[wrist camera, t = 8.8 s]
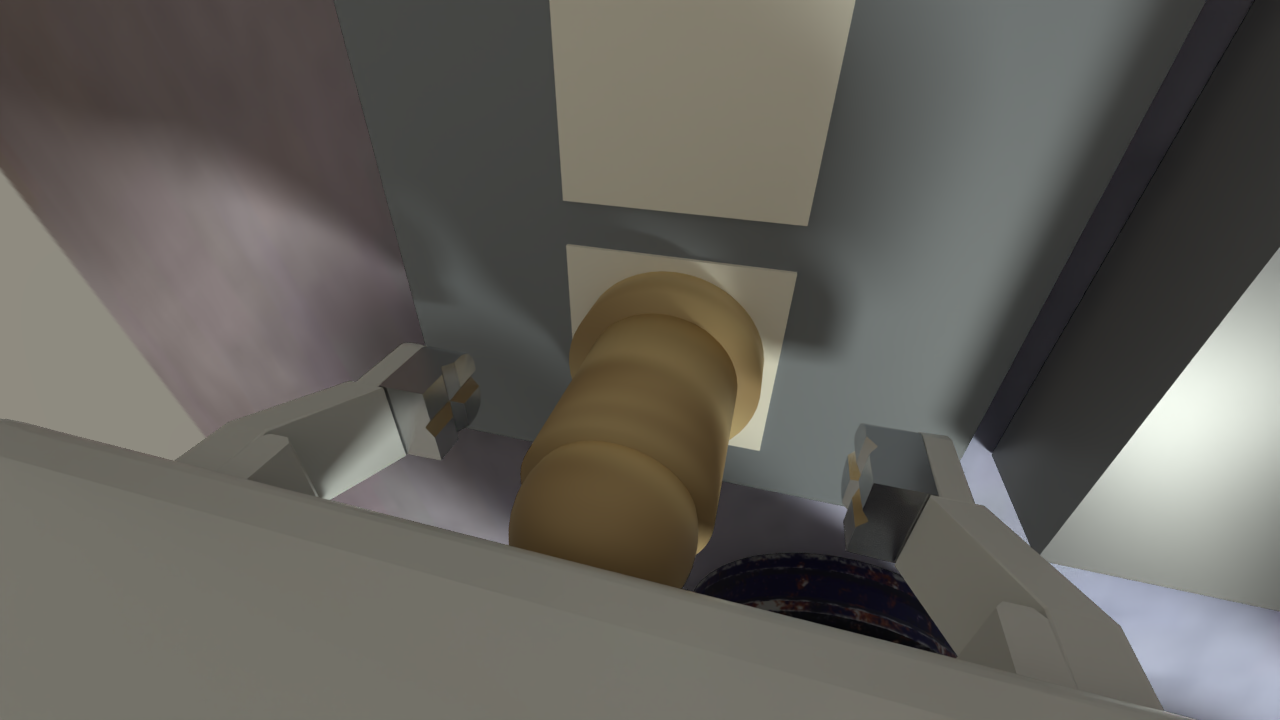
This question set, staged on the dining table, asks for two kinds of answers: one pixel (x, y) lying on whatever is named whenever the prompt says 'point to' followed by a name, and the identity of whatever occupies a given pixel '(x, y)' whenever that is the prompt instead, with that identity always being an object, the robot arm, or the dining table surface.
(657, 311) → the pawn
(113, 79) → the dining table surface
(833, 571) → the dark blue ribbed cylinder
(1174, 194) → the base
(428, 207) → the game board
